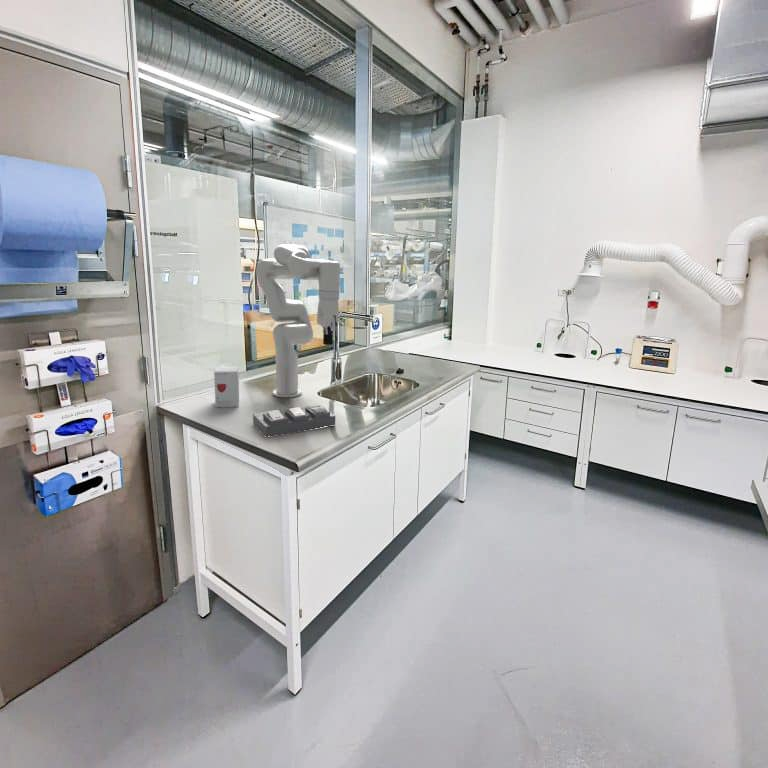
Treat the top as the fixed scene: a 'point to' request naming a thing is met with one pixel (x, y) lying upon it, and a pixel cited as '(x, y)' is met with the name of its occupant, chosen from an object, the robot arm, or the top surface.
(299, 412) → the middle rocker
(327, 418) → the rocker switch panel
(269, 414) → the rocker
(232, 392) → the supplement box
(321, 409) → the rocker
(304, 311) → the robot arm
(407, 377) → the top surface
